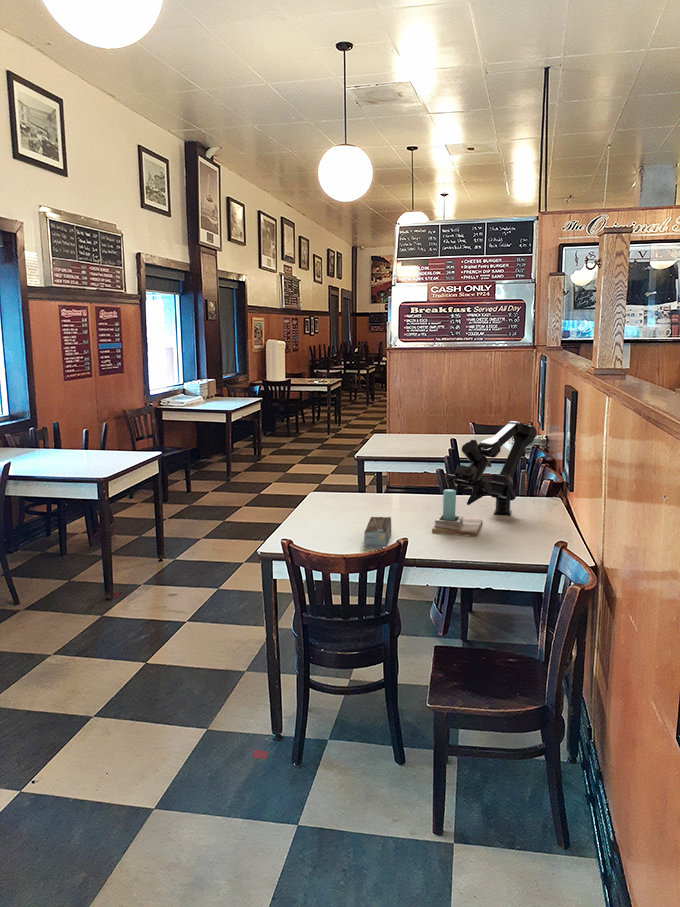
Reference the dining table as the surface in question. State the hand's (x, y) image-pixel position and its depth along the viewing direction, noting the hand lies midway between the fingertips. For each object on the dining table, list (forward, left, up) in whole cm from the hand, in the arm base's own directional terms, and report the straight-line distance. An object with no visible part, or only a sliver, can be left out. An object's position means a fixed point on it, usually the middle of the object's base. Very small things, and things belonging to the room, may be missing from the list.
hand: (457, 502), depth 262 cm
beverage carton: (+26, -24, -10) cm, 36 cm away
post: (+4, -2, -8) cm, 9 cm away
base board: (+2, +1, -9) cm, 10 cm away
